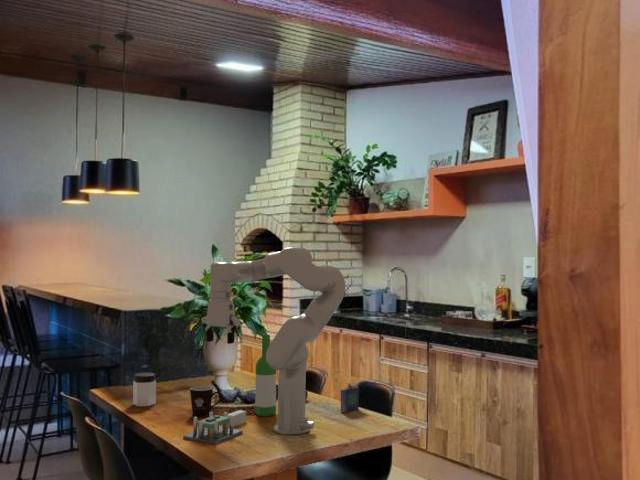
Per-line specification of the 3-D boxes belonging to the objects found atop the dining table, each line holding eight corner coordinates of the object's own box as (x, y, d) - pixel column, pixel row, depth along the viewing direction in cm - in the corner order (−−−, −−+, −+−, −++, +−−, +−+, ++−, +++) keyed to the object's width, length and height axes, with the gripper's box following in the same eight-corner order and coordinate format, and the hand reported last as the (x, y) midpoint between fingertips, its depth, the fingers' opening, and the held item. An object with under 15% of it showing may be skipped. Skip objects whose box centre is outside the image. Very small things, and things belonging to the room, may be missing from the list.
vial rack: (242, 433, 218) (242, 414, 218) (214, 444, 205) (214, 424, 205) (212, 427, 224) (212, 409, 224) (183, 438, 211) (183, 418, 211)
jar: (145, 407, 253) (145, 377, 253) (129, 405, 256) (129, 375, 256) (159, 402, 261) (160, 373, 261) (143, 400, 264) (143, 371, 264)
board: (230, 421, 217) (230, 415, 217) (210, 428, 209) (211, 422, 209) (216, 419, 220) (216, 413, 220) (196, 426, 212) (196, 419, 212)
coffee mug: (184, 415, 240) (185, 389, 241) (199, 410, 248) (199, 384, 248) (209, 419, 235) (210, 392, 235) (223, 414, 243) (224, 388, 243)
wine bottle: (251, 415, 242) (251, 335, 242) (262, 410, 248) (263, 333, 249) (268, 417, 238) (269, 336, 238) (279, 413, 245) (280, 334, 245)
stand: (246, 422, 232) (246, 411, 232) (232, 427, 225) (232, 416, 225) (239, 421, 233) (239, 410, 233) (225, 426, 226) (225, 414, 226)
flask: (343, 413, 245) (343, 385, 245) (338, 412, 247) (338, 384, 247) (360, 409, 251) (360, 382, 251) (354, 408, 253) (355, 381, 253)
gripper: (245, 296, 235) (245, 342, 235) (208, 294, 244) (208, 339, 243) (233, 297, 228) (232, 345, 228) (195, 295, 237) (195, 341, 237)
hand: (220, 342), depth 236 cm, fingers open, 9 cm apart
